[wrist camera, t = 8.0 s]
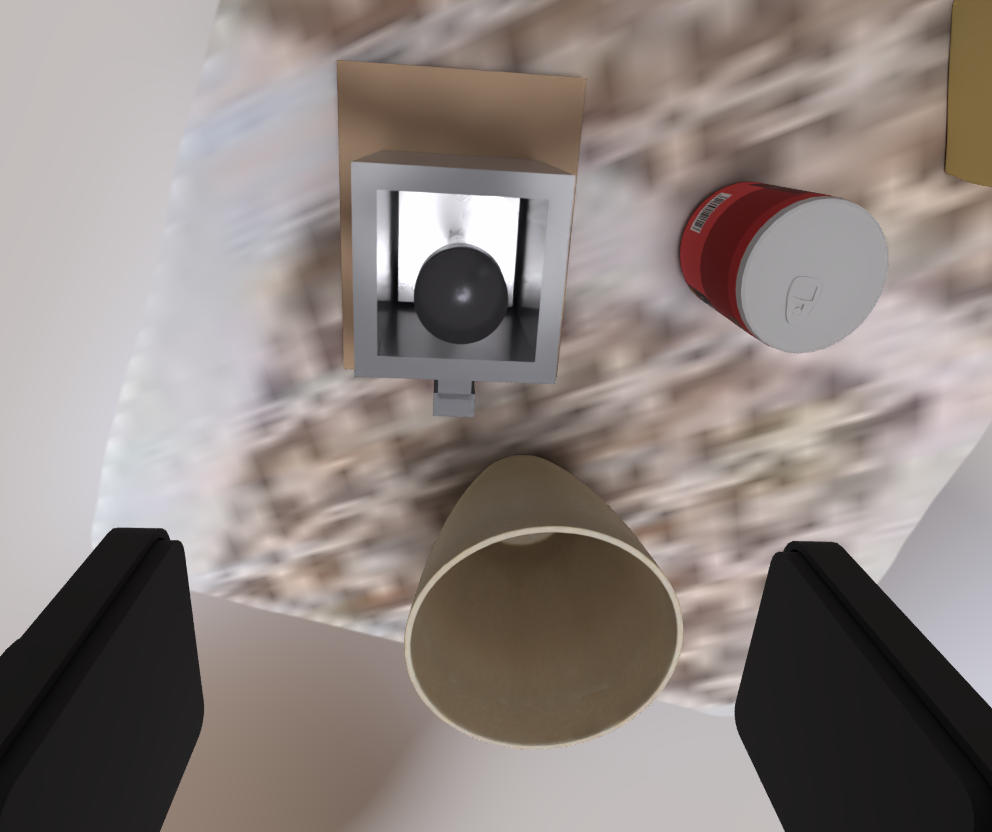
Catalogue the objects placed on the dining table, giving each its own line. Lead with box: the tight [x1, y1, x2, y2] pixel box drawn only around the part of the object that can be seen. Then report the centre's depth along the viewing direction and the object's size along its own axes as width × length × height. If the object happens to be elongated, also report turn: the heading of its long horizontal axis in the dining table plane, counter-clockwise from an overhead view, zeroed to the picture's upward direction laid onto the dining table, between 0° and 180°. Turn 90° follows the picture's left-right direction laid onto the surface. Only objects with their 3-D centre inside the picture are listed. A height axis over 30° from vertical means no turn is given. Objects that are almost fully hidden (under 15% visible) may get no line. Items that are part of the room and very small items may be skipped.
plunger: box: [398, 191, 520, 344], centre depth 33 cm, size 6×6×13 cm
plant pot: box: [404, 455, 683, 749], centre depth 44 cm, size 15×15×16 cm
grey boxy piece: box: [351, 150, 576, 417], centre depth 37 cm, size 12×9×14 cm
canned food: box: [680, 182, 888, 353], centre depth 40 cm, size 8×8×11 cm
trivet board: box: [337, 60, 587, 377], centre depth 43 cm, size 18×14×2 cm
